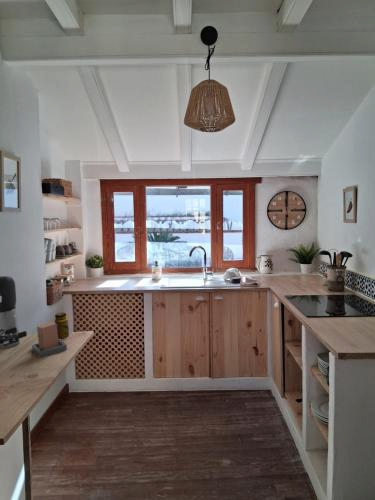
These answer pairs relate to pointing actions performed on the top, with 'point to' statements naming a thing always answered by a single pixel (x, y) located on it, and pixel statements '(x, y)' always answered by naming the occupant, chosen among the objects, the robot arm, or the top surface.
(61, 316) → the condiment
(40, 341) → the brick
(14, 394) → the top surface
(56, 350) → the tray
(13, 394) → the top surface
